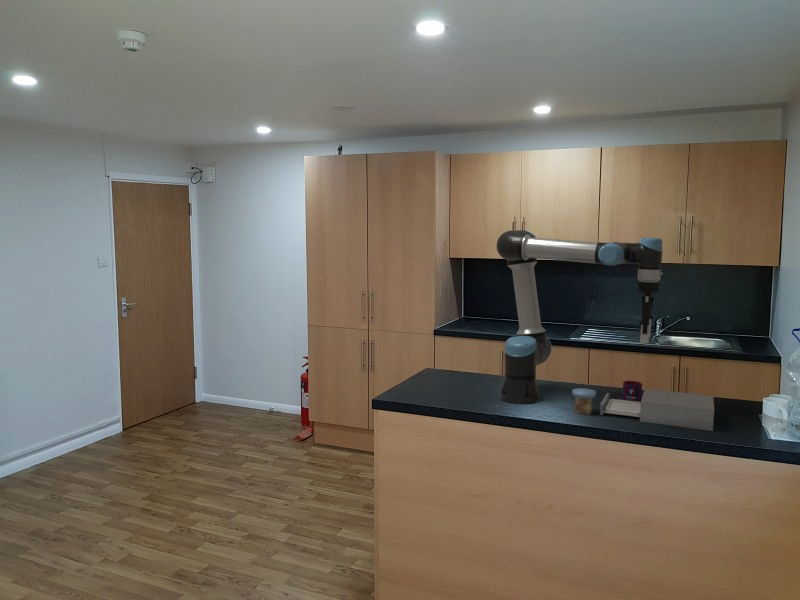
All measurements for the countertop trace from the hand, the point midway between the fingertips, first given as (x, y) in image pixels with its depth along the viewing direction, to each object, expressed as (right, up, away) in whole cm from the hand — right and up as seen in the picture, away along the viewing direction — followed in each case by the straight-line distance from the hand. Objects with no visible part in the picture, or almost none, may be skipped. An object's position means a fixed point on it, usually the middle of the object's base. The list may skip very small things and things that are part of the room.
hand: (645, 339), depth 219 cm
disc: (-23, -20, -4) cm, 31 cm away
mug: (0, -24, +13) cm, 27 cm away
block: (-23, -26, -3) cm, 35 cm away
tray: (-7, -25, -4) cm, 27 cm away
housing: (+6, -26, -11) cm, 29 cm away
